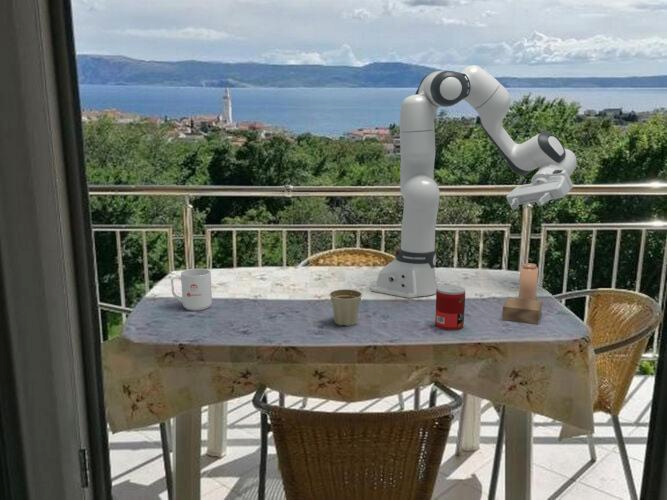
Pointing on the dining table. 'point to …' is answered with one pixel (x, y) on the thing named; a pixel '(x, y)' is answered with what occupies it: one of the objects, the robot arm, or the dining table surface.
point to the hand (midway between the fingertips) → (525, 205)
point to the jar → (528, 281)
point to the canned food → (450, 307)
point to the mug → (195, 289)
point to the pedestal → (522, 310)
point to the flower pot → (345, 306)
